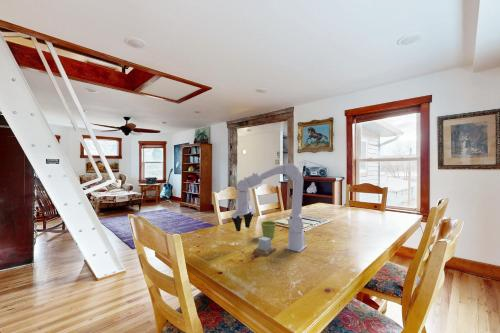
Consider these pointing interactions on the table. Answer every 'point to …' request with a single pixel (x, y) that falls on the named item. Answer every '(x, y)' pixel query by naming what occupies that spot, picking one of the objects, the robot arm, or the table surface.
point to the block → (264, 243)
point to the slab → (265, 251)
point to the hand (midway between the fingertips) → (242, 229)
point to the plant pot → (268, 229)
